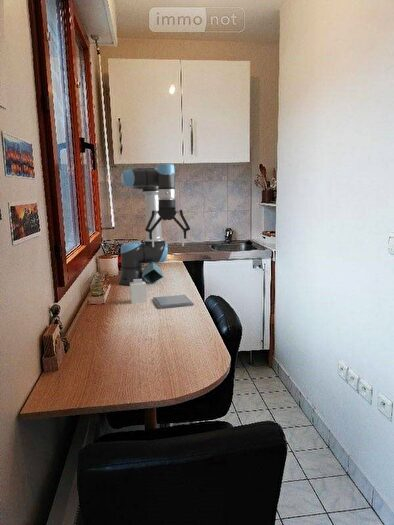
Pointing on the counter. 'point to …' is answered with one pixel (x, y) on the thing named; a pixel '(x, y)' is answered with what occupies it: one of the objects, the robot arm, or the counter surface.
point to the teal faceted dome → (152, 273)
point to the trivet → (172, 301)
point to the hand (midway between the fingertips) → (168, 246)
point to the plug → (138, 291)
